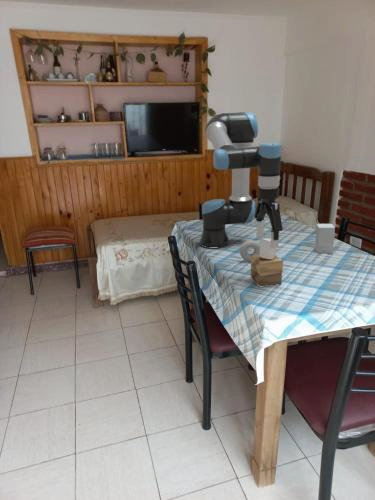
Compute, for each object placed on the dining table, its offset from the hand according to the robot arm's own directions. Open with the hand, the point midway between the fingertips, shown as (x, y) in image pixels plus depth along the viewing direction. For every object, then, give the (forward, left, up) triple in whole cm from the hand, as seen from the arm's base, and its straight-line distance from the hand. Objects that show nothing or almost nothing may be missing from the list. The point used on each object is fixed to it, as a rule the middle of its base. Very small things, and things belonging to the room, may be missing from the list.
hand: (266, 242), depth 135 cm
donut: (-22, +2, -16) cm, 27 cm away
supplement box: (-24, +40, -16) cm, 49 cm away
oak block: (+1, 0, -11) cm, 11 cm away
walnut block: (+1, 0, -16) cm, 16 cm away
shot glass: (+1, 0, -6) cm, 6 cm away
